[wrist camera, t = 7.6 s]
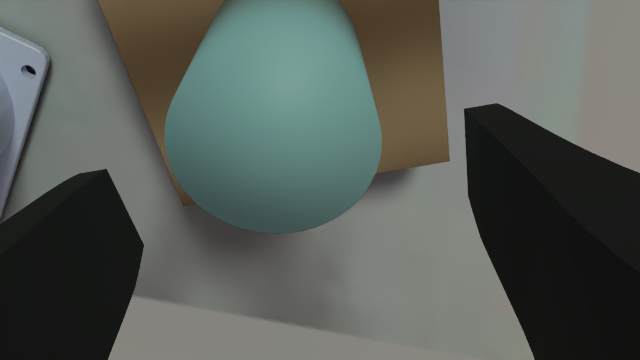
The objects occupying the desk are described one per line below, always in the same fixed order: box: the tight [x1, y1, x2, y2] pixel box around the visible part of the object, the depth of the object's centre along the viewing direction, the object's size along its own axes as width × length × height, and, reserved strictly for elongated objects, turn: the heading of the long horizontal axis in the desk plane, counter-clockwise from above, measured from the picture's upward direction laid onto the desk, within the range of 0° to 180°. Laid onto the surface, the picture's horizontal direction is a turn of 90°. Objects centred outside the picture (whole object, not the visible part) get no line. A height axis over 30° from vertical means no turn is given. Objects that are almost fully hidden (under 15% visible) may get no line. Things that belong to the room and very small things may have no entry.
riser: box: [98, 0, 450, 206], centre depth 18 cm, size 10×10×3 cm
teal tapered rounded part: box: [164, 0, 382, 234], centre depth 14 cm, size 5×5×6 cm
